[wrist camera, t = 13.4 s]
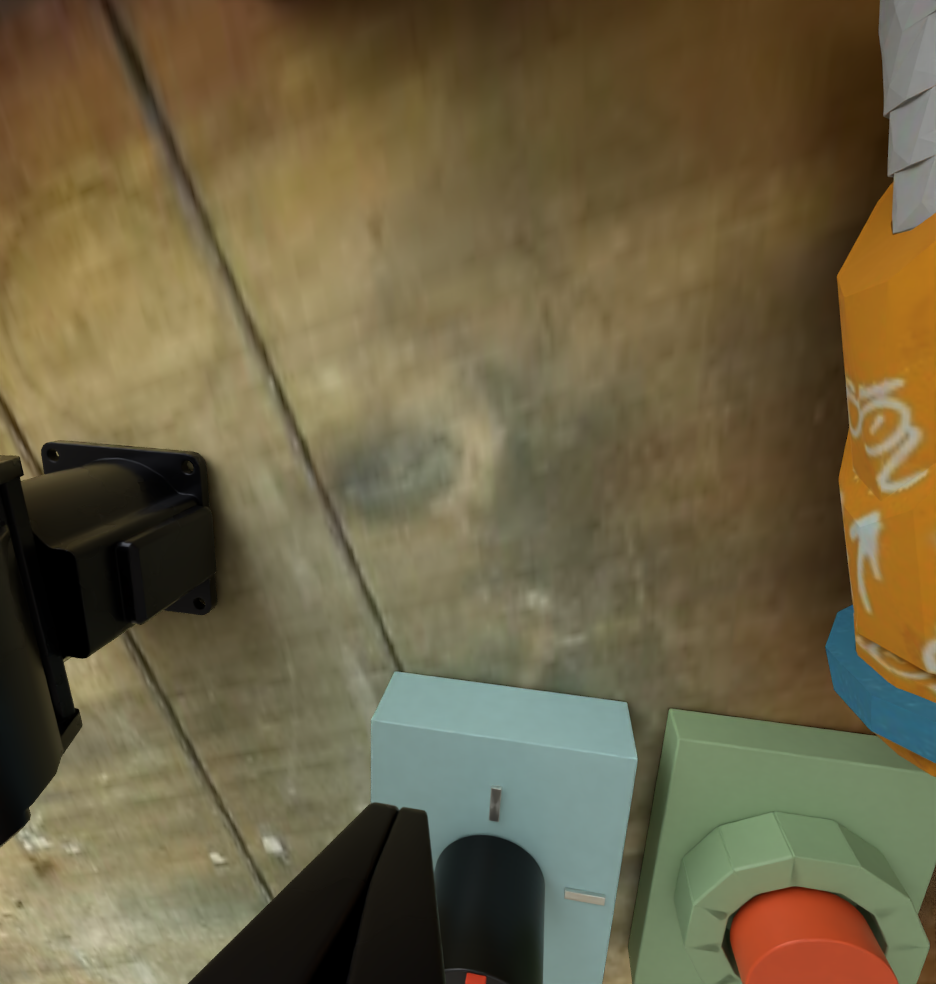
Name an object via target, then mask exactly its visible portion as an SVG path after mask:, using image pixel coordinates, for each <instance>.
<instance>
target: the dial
mask: <svg viewBox="0 0 936 984" xmlns="http://www.w3.org/2000/svg"><path fill="white" fill-rule="evenodd" d="M434 878H435V887H436V896H437V905H438V915H439V924H440V933H441V942H442V951H443V961H444V970H445V979H446V984H543V961H544V911H545V881H544V877H543V873H542V871H541V869H540V867H539V865H538V864H537V862H536V861H535V859H534V858H533V857H532V856H531V855H530V854H529V853H528V852H527V851H526V850H524V849H523V848H522V847H520V846H518V845H517V844H515V843H513V842H511V841H509V840H506V839H503V838H500V837H496V836H490V835H472V836H467V837H464V838H461V839H458V840H456V841H454V842H453V843H451V844H450V845H448V846H447V847H446V848H445V849H444V850H443V852H442V853H441V854H440V856H439V858H438V860H437V863H436V866H435V871H434Z"/></svg>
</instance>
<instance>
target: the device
mask: <svg viewBox="0 0 936 984" xmlns="http://www.w3.org/2000/svg"><path fill="white" fill-rule="evenodd" d="M879 39H880V47H881V54H882V66H883V86H884V111H883V116H884V117H886V118H888V119H890V120H889V146H888V177H893V178H894V181H893V182H892V184H891V185H890V186H889V188H888V189H887V190H886V192H885V193H884V194H883V196H882V197H881V198H880V200H879V201H878V202H877V204H876V206H875V207H874V209H873V211H872V213H871V215H870V217H869V218H868V220H867V222H866V224H865V226H864V228H863V229H862V231H861V233H860V235H859V237H858V239H857V240H856V242H855V244H854V246H853V248H852V250H851V251H850V253H849V255H848V257H847V259H846V260H845V262H844V264H843V266H842V268H841V270H840V271H839V273H838V275H837V284H838V296H839V308H840V320H841V332H842V344H843V356H844V368H845V380H846V392H847V404H848V416H849V431H848V436H847V441H846V445H845V450H844V455H843V460H842V464H841V469H840V474H839V488H840V497H841V506H842V514H843V523H844V532H845V541H846V550H847V559H848V568H849V577H850V585H851V594H852V602H853V605H851V606H849V607H847V608H845V609H843V610H841V611H839V612H837V615H836V618H835V621H834V624H833V626H832V629H831V632H830V635H829V638H828V640H827V643H826V646H825V648H826V653H827V658H828V663H829V668H830V672H831V677H832V682H833V687H834V690H835V692H836V693H837V694H838V695H839V696H840V697H841V698H842V699H843V700H844V701H845V703H846V704H847V705H848V706H849V707H850V708H851V709H852V710H853V711H854V713H855V714H856V715H857V716H858V717H859V718H860V719H861V720H862V721H863V723H864V724H865V725H866V726H867V727H868V728H869V729H870V730H871V731H872V732H874V733H875V734H876V735H877V736H878V737H879V738H880V739H881V740H882V741H884V742H885V743H886V744H887V745H888V746H889V747H890V748H891V749H892V750H893V751H895V752H896V753H897V754H898V755H899V756H901V757H903V758H904V759H906V760H907V761H909V762H911V763H912V764H914V765H915V766H917V767H919V768H920V769H922V770H923V771H925V772H926V773H928V774H930V775H931V776H934V777H936V0H880V13H879Z"/></svg>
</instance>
